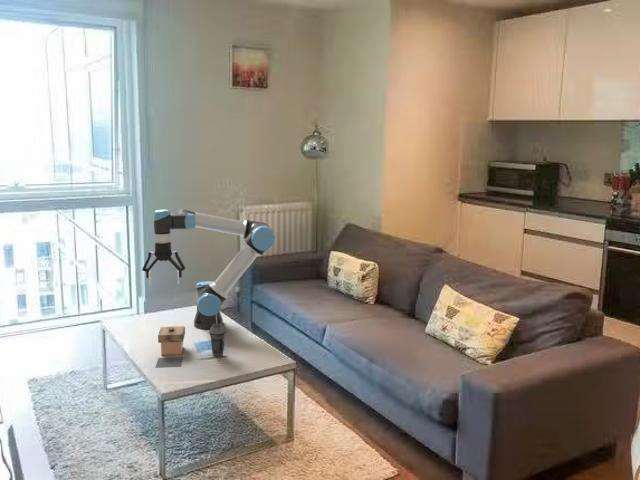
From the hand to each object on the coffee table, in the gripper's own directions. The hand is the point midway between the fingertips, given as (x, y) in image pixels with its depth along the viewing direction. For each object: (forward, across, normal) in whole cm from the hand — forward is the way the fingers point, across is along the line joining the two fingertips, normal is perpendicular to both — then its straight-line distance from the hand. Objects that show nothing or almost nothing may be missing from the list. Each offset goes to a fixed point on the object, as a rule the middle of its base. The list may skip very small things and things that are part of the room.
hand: (164, 284), depth 288 cm
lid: (+20, -5, +22) cm, 30 cm away
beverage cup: (+27, -26, +29) cm, 47 cm away
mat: (+27, -5, +35) cm, 44 cm away
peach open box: (+27, -5, +22) cm, 35 cm away
